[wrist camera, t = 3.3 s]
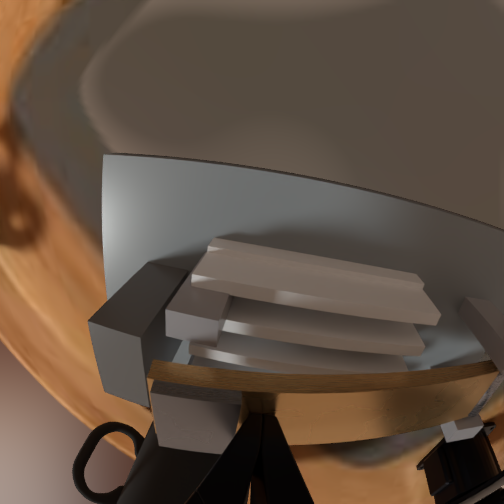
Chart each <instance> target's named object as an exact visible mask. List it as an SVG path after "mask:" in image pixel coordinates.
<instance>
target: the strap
mask: <svg viewBox="0 0 504 504" xmlns="http://www.w3.org/2000/svg"><path fill="white" fill-rule="evenodd" d="M503 380H504V374H501V373H500V371H499V370H498V368H497V367H496V365H495V364H494V362H493V361H492V360H488V361H483V362H477V363H471V364H465V365H459V366H452V367H444V368H436V369H427V370H417V371H406V372H392V373H375V374H341V375H318V374H283V373H265V372H251V371H239V370H228V369H219V368H210V367H202V366H194V365H187V364H180V363H173V362H167V361H161V360H155V359H153V361H152V364H151V367H150V370H149V373H148V376H147V382H148V390H149V397H150V403H151V409H152V415H153V421H154V427H155V432H156V433H157V438H158V443H159V446H163V447H169V448H175V449H182V450H189V451H196V452H205V453H214V454H222V453H223V452H224V450H225V449H226V447H227V446H228V444H229V443H230V441H231V440H232V439H233V437H234V436H235V434H236V433H237V431H238V430H239V428H240V427H241V425H242V424H243V422H244V421H245V419H246V418H247V416H248V415H249V413H259V414H262V415H264V414H267V415H274V416H276V417H277V419H278V421H279V423H280V426H281V428H282V431H283V433H284V435H285V438H286V440H287V442H288V445H307V444H325V443H338V442H348V441H357V440H365V439H372V438H379V437H385V436H391V435H397V434H402V433H407V432H412V431H416V430H421V429H425V428H429V427H433V426H437V425H441V424H445V423H448V422H452V421H455V420H458V419H462V418H465V417H468V416H469V417H475V416H476V415H477V414H478V413H479V412H480V411H481V409H482V408H483V407H484V406H485V404H486V403H487V402H488V400H489V399H490V398H491V396H492V395H493V394H494V392H495V391H496V390H497V388H498V387H499V385H500V384H501V383H502V381H503Z"/></svg>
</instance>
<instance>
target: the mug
mask: <svg viewBox="0 0 504 504" xmlns="http://www.w3.org/2000/svg"><path fill="white" fill-rule="evenodd" d="M115 431H118V432H122V433H124V434H126V435H128V436H129V437H130V438H131V439H132V440H133V443H134V447H135V455H136V460H135V462H134V464H133V466H132V469H131V471H130V473H129V476H128V478H127V480H126V482H125V485H124V486H119V487H118V488H116V489H115V490H113V491H111V492H109V493H94V492H92V491H91V490H90V489H89V488H88V487H87V485H86V482H85V479H84V469H85V466H86V464H87V462H88V460H89V458H90V456H91V454H92V452H93V451H94V449H95V447H96V445H97V444H98V442H99V440H100V439H101V438H102V437H103V436H104V435H106V434H108V433H111V432H115ZM220 456H221V454H214V453H205V452H196V451H189V450H182V449H175V448H169V447H163V446H159V443H158V438H157V433H156V432H155V427H154V421H153V422H152V424H151V426H150V428H149V430H148V433H147V435H146V437H145V438H144V437H143V436H142V435H141V434H140V433H139V432H138V431H136V430H135V429H134V428H133V427H131V426H129V425H126V424H123V423H119V422H108V423H104V424H102V425H100V426H98V427H96V428H95V429H94V430H93V431H92V432H91V433H90V434H89V436H88V438H87V439H86V441H85V443H84V444H83V446H82V448H81V449H80V451H79V453H78V455H77V457H76V459H75V461H74V464H73V470H72V473H73V480H74V484H75V486H76V488H77V489H78V491H79V492H80V493H81V494H82V495H83V496H84V497H85V498H86V499H88V500H89V501H92V502H94V503H97V504H184V503H185V502H186V501H187V500H188V499H189V497H190V496H191V495H192V493H193V492H194V491H196V488H197V487H198V486H199V485H200V483H201V482H202V481H203V479H204V478H205V477H206V475H207V474H208V472H209V471H210V470H211V468H212V467H213V466H214V464H215V463H216V461H217V460H218V459H219V457H220ZM249 489H250V485H249V488H248V491H247V494H246V498H245V501H244V504H247V501H248V495H249Z"/></svg>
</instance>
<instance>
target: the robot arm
mask: <svg viewBox="0 0 504 504" xmlns="http://www.w3.org/2000/svg"><path fill="white" fill-rule="evenodd" d="M495 427H496V424H495V422H493V423H488V424H484V426H483V427H482V428H481V430H480V431H479V432H478V433H477V434H476V435H475V436H474V437H473V438H468V439H463V440H458V441H452V442H446V439H445V437H444V438H443V440H442V441H441V442H440V443H439V444H438V445H437V446H436V447H435V448H434V449H433V450H432V451H431V452H430V453H429V454H428V455H427V456H426V457H425V458H424V459H423V460H422V461H421V462H420V463H419V464H418V465H417V466H416V467H417V470H423V469H424V470H425V474H426V478H427V482H428V487H429V491H430V495H431V496H434V499H435V504H473V503H474V504H504V489H503V488H502V487H501V486H503V485H504V470H503V471H501V469H500V466H499V464H498V461H497V458H496V456H495V453H494V451H493V448H492V446H491V444H490V441H489V439H488V437H487V436H488V435H489V434H490V433H491V432H492V430H493V429H494V428H495ZM250 482H251V495H250V504H314V502H313V500H312V497H311V495H310V493H309V491H308V488H307V486H306V484H305V482H304V479H303V477H302V475H301V473H300V470H299V468H298V466H297V463H296V461H295V459H294V457H293V454H292V452H291V450H290V447H289V445H288V442H287V440H286V438H285V435H284V433H283V431H282V428H281V426H280V423H279V421H278V419H277V417H276V416H274V415H267V414H264V415H262V414H259V413H249V415H248V416H247V418H246V419H245V421H244V422H243V424H242V425H241V427H240V428H239V430H238V431H237V433H236V434H235V436H234V437H233V439H232V440H231V441H230V443H229V444H228V446H227V447H226V449H225V450H224V452H223V453H222V454H221V456H220V457H219V459H218V460H217V461H216V463H215V464H214V466H213V467H212V468H211V470H210V471H209V472H208V474H207V475H206V477H205V478H204V479H203V481H202V482H201V483H200V485H199V486H198V487H197V488H196V491H194V492H193V493H192V495H191V496H190V497H189V499H188V500H187V501H186V502H185V503H184V504H244V501H245V498H246V494H247V491H248V488H249V485H250ZM493 491H494V492H493ZM490 493H491V494H490ZM485 496H486V497H485ZM480 499H481V500H480ZM475 502H476V503H475Z"/></svg>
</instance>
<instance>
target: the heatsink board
mask: <svg viewBox="0 0 504 504" xmlns="http://www.w3.org/2000/svg"><path fill="white" fill-rule="evenodd" d="M102 234H103V255H104V270H105V281H106V292H107V302H106V303H105V304H104V305H103V306H102V307H101V308H100V309H99V310H98V311H97V312H96V313H95V314H94V315H93V316H92V317H91V318H90V319H89V320H88V326H89V331H90V335H91V340H92V345H93V349H94V354H95V358H96V362H97V366H98V370H99V374H100V377H101V381H102V384H103V388H104V391H105V392H106V393H109V394H112V395H114V396H117V397H120V398H122V399H125V400H128V401H131V402H134V403H137V404H139V405H142V406H146V407H149V408H150V406H151V403H150V397H149V390H148V382H147V376H148V373H149V370H150V367H151V364H152V361H153V359H155V360H161V361H167V362H173V363H180V364H187V365H194V366H202V367H210V368H219V369H228V370H239V371H251V372H265V373H283V374H318V375H341V374H375V373H392V372H406V371H417V370H427V369H436V368H444V367H452V366H459V365H465V364H471V363H477V362H479V361H480V359H481V358H482V356H483V354H484V353H485V351H486V352H487V354H488V355H489V357H490V358H491V360H492V361H493V362H494V364H495V365H496V367H497V368H498V370H499V371H500V373H501V374H504V230H503V229H500V228H498V227H495V226H492V225H489V224H486V223H484V222H481V221H478V220H475V219H472V218H469V217H466V216H463V215H460V214H457V213H453V212H450V211H447V210H444V209H440V208H437V207H434V206H430V205H427V204H423V203H420V202H416V201H413V200H409V199H406V198H402V197H397V196H394V195H390V194H386V193H382V192H378V191H374V190H370V189H366V188H361V187H357V186H353V185H349V184H343V183H339V182H335V181H330V180H325V179H319V178H315V177H309V176H305V175H299V174H294V173H288V172H283V171H276V170H271V169H265V168H258V167H251V166H245V165H238V164H231V163H223V162H215V161H207V160H198V159H188V158H179V157H168V156H156V155H143V154H128V153H110V154H104V156H103V176H102ZM483 426H484V424H483V422H482V420H481V418H480V416H479V413H478V414H477V415H476V416H475V417H469V416H468V417H465V418H462V419H458V420H455V421H452V422H448V423H445V424H441V428H442V431H443V434H444V436H445V439H446V442H452V441H458V440H463V439H468V438H473V437H474V436H475V435H476V434H477V433H478V432H479V431H480V430H481V428H482V427H483Z"/></svg>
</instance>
